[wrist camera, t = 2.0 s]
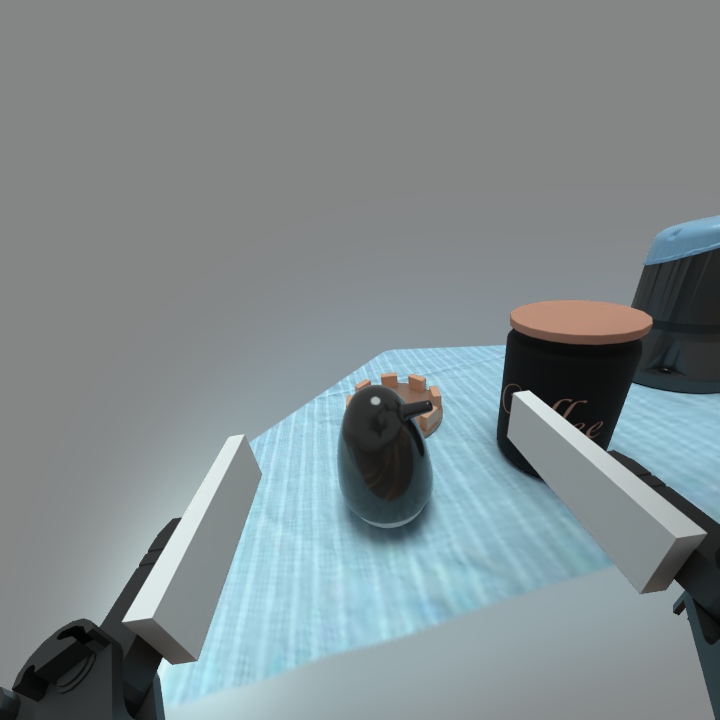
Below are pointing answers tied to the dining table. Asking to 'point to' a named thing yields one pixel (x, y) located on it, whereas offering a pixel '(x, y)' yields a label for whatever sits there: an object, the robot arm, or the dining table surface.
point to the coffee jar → (572, 365)
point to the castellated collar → (413, 398)
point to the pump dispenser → (384, 457)
